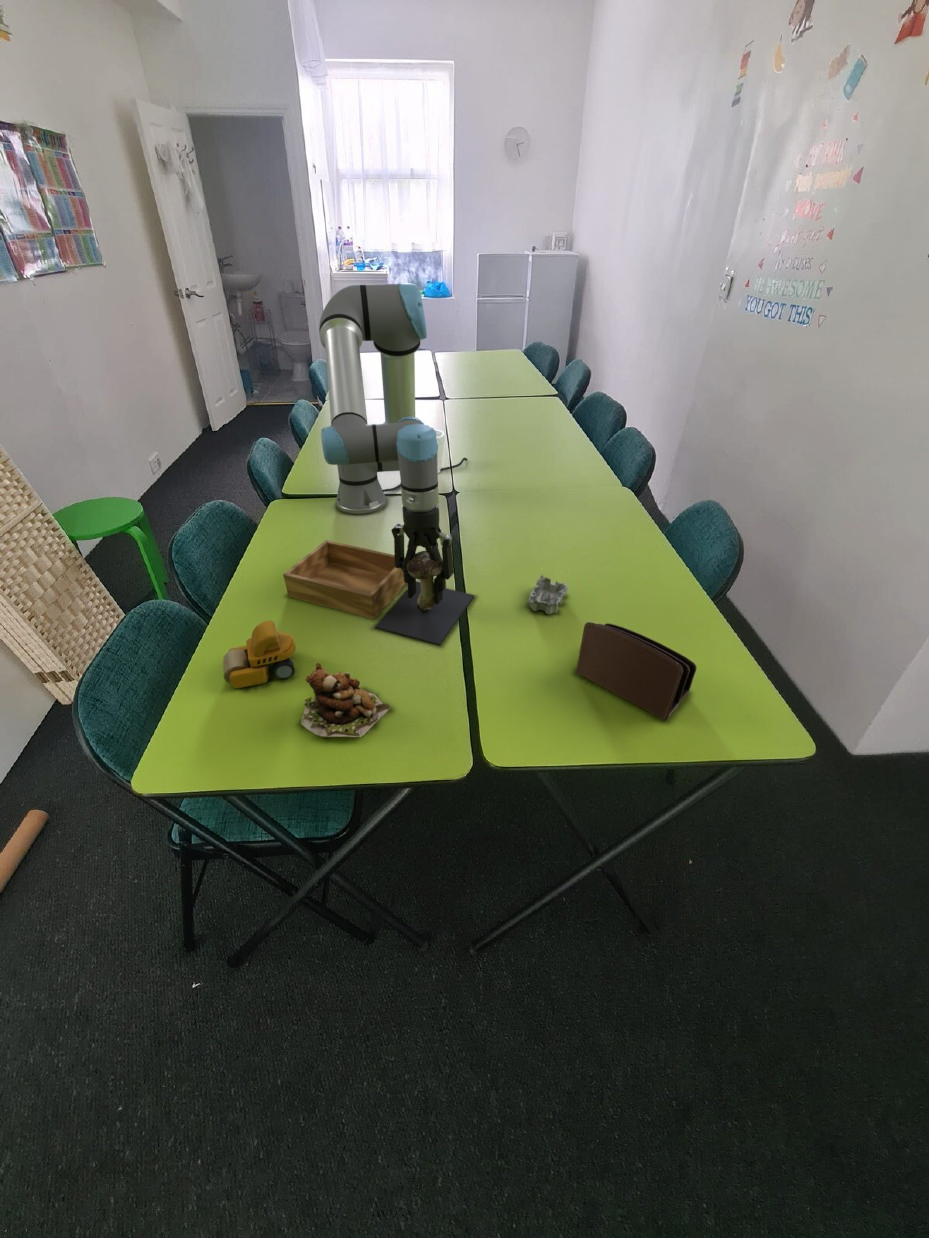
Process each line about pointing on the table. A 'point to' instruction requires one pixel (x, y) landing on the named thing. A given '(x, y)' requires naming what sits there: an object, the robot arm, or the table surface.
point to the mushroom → (425, 578)
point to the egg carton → (547, 595)
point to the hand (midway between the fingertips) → (425, 597)
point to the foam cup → (439, 447)
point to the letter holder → (635, 668)
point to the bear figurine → (340, 706)
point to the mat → (425, 616)
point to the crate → (346, 578)
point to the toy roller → (260, 657)
